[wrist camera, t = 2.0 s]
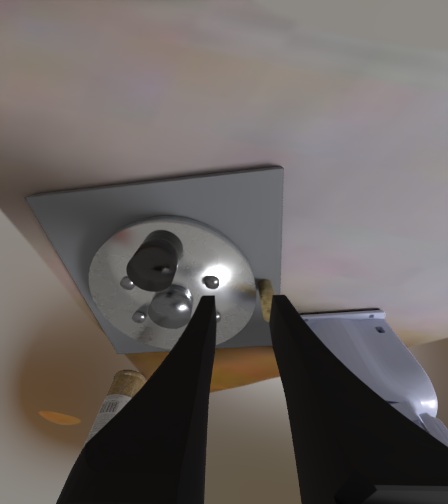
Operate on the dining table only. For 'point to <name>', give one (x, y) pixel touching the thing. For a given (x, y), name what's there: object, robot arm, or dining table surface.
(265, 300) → the brass dowel
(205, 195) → the charcoal board
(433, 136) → the dining table surface
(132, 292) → the flange plate
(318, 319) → the robot arm
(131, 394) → the sprinkles bottle
